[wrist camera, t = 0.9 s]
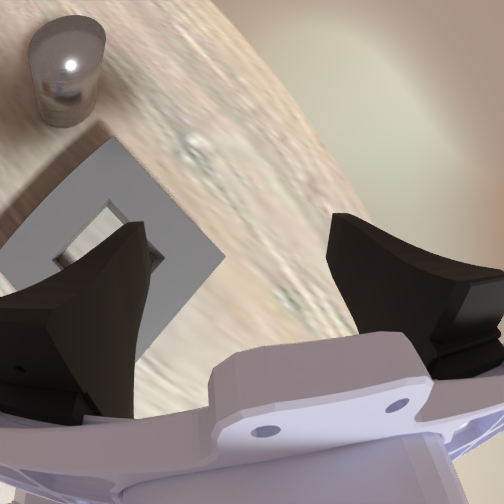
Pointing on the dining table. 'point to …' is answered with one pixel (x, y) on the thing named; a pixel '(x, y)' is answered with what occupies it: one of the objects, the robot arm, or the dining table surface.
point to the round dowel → (66, 68)
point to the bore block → (126, 210)
